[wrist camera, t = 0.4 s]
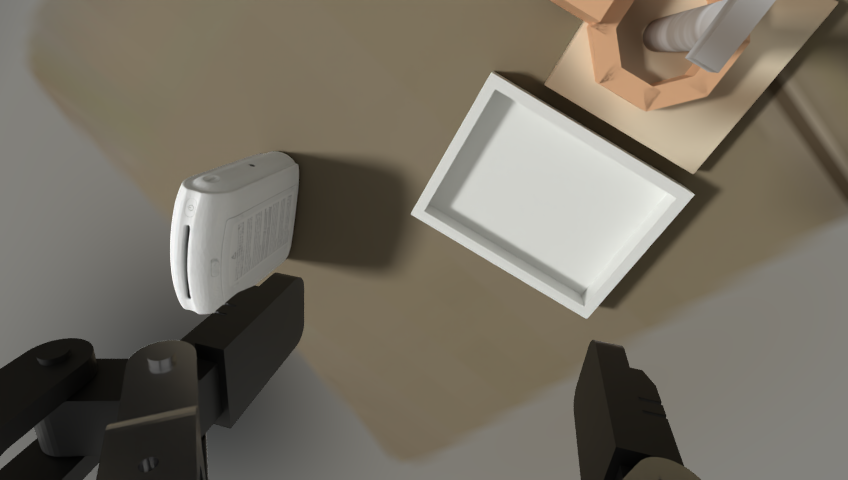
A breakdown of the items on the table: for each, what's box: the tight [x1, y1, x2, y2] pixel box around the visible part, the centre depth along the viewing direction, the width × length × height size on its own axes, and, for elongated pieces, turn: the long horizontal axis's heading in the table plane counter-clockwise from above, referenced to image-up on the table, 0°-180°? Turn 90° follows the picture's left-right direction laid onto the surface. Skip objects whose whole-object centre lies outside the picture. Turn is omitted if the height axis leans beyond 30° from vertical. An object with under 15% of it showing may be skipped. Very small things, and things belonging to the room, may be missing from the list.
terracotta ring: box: [550, 0, 750, 112], centre depth 28 cm, size 8×13×4 cm
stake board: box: [544, 0, 839, 174], centre depth 25 cm, size 12×12×14 cm
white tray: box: [411, 71, 695, 319], centre depth 35 cm, size 12×16×2 cm
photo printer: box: [170, 151, 299, 314], centre depth 36 cm, size 10×4×12 cm, turn 167°
